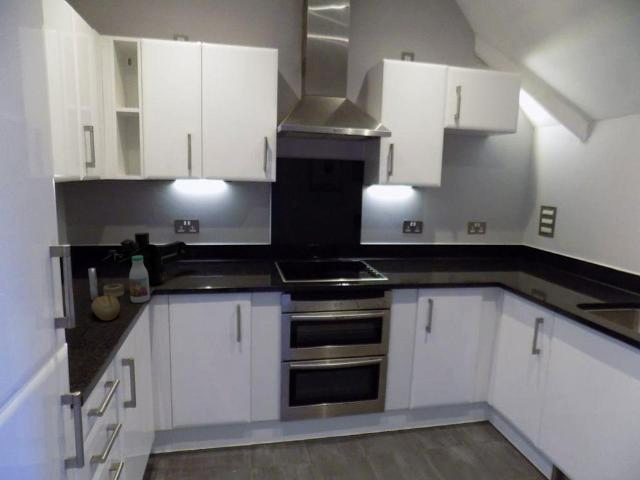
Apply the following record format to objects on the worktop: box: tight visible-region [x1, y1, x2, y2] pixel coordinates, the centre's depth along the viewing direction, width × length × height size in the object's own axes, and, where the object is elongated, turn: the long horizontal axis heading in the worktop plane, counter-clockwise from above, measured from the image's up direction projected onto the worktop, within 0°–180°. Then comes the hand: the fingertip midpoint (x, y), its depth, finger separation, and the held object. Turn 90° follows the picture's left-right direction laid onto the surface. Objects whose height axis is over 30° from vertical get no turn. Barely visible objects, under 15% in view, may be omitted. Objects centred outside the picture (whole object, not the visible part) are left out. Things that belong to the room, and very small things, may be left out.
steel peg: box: [88, 267, 99, 301], centre depth 178 cm, size 3×3×14 cm
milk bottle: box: [128, 255, 151, 304], centre depth 177 cm, size 8×8×20 cm
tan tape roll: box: [102, 283, 125, 298], centre depth 185 cm, size 8×8×4 cm
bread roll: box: [90, 295, 121, 322], centre depth 160 cm, size 10×15×8 cm, turn 43°
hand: (109, 262), depth 177 cm, fingers open, 9 cm apart
